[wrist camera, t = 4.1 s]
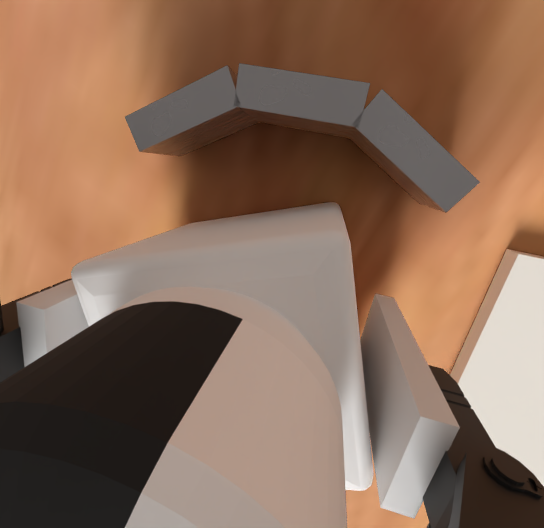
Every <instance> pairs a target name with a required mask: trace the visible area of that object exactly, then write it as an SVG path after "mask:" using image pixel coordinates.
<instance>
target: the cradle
mask: <svg viewBox="0 0 544 528" xmlns="http://www.w3.org/2000/svg"><path fill="white" fill-rule="evenodd" d="M369 86H370V83H366V82H359V81H353V80H346V79H340V78H333V77H326V76H320V75H313V74H307V73H300V72H293V71H287V70H280V69H274V68H267V67H260V66H254V65H247V64H241V63H239V69H238V76H237V75H236V74H235V73H234V72H233V71H232V70H231V69H230V67H229V66H228V65H227V66H225V67H223V68H221V69H219V70H217V71H215V72H213V73H211V74H209V75H207V76H205V77H203V78H201V79H199V80H197V81H195V82H193V83H191V84H189V85H187V86H185V87H183V88H181V89H179V90H177V91H175V92H173V93H171V94H169V95H167V96H165V97H163V98H161V99H159V100H157V101H155V102H153V103H151V104H149V105H147V106H145V107H143V108H141V109H139V110H137V111H135V112H133V113H131V114H129V115H127V116H125V119H126V121H127V123H128V126H129V128H130V130H131V133H132V135H133V138H134V140H135V142H136V145H137V147H138V149H139V152H147V153H155V154H164V155H172V156H182V155H184V154H187V153H189V152H191V151H194V150H196V149H198V148H201V147H203V146H205V145H208V144H210V143H212V142H214V141H217V140H219V139H221V138H224V137H226V136H228V135H231V134H233V133H235V132H238V131H240V130H242V129H245V128H247V127H249V126H252V125H254V124H256V123H258V122H260V123H266V124H272V125H277V126H283V127H289V128H294V129H300V130H306V131H311V132H317V133H323V134H328V135H334V136H340V137H345V138H350V139H351V140H352V141H353V142H354V143H355V144H356V145H357V146H358V147H359V148H360V149H361V150H362V151H363V152H365V153H366V154H367V155H368V156H369V157H370V158H371V159H372V160H373V161H374V162H375V163H376V164H377V165H378V166H380V167H381V168H382V169H383V170H384V171H385V172H386V173H387V174H388V175H389V176H390V177H391V178H392V179H393V180H395V181H396V182H397V183H398V184H399V185H400V186H401V187H402V188H403V189H404V190H405V191H406V192H407V193H408V194H410V195H411V196H412V197H413V198H414V199H415V200H416V201H417V202H418V203H419V204H422V205H425V206H428V207H431V208H434V209H437V210H440V211H443V212H447V211H449V210H450V209H451V208H452V207H453V206H454V205H455V204H456V203H457V202H459V201H460V200H461V199H462V198H463V197H464V196H465V195H466V194H467V193H469V192H470V191H471V190H472V189H473V188H474V187H475V186H476V185H477V184H479V183H480V182H479V181H478V180H477V179H476V178H475V177H474V176H473V175H472V174H471V173H470V172H469V171H468V170H467V169H465V168H464V167H463V166H462V165H461V164H460V163H459V162H458V161H457V160H456V159H455V158H454V157H453V156H452V155H451V154H450V153H449V152H448V151H447V150H446V149H444V148H443V147H442V146H441V145H440V144H439V143H438V142H437V141H436V140H435V139H434V138H433V137H432V136H431V135H430V134H429V133H428V132H427V131H426V130H425V129H424V128H422V127H421V126H420V125H419V124H418V123H417V122H416V121H415V120H414V119H413V118H412V117H411V116H410V115H409V114H408V113H407V112H406V111H405V110H404V109H403V108H401V107H400V106H399V105H398V104H397V103H396V102H395V101H394V100H393V99H392V98H391V97H390V96H389V95H388V94H387V93H386V92H385V91H384V90H383V89H382V90H381V91H380V92H379V93H378V94H377V95H376V97H375V98H374V99H373V100H372V101H371V102H370V104H369V105H368V106H367V107H366V108H365V109H364V106H365V102H366V98H367V94H368V90H369ZM363 110H364V111H363Z"/></svg>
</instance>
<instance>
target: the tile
mask: <svg viewBox="0 0 544 528" xmlns="http://www.w3.org/2000/svg"><path fill="white" fill-rule="evenodd" d="M450 376H451V377H452V378H453V379H454V380H455V381H456V382H457V384H458V385H459V387H460V389H461V390H462V392H463V394H464V397H465V398H466V399H467V400H468V402H469V404H470V405H471V409H473V410H474V412H475V413H476V415H477V417H478V418H479V420H480V422H481V423H482V425H483V427H484V428H485V430H486V432H487V433H488V435H489V437H490V438H491V440H492V442H493V443H494V445H495V447H496V448H498V449H500V450H502V451H504V452H506V453H508V454H509V455H511V456H512V457H514V458H515V459H517V460H518V461H520V462H521V463H522V464H523V465H524V466H525V467H526V468H528V469H529V470H530V471H531V472H532V473H533V474H534V475H535V476H536V478H537V479H538V480H539V481H540V483H541V484H542V485H543V486H544V257H543V256H538V255H534V254H529V253H524V252H519V251H514V250H510V249H507V250H506V252H505V254H504V256H503V258H502V261H501V263H500V265H499V267H498V269H497V272H496V274H495V276H494V278H493V280H492V283H491V285H490V287H489V289H488V291H487V294H486V296H485V298H484V300H483V303H482V305H481V307H480V309H479V311H478V314H477V316H476V318H475V320H474V322H473V325H472V327H471V329H470V331H469V333H468V336H467V338H466V340H465V342H464V345H463V347H462V349H461V351H460V353H459V356H458V358H457V360H456V362H455V364H454V367H453V369H452V371H451V373H450Z"/></svg>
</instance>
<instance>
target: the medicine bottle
mask: <svg viewBox="0 0 544 528" xmlns="http://www.w3.org/2000/svg"><path fill="white" fill-rule="evenodd" d="M71 275H72V281H73V283H74V286H75V289H76V292H77V295H78V297H79V300H80V303H81V306H82V309H83V312H84V314H85V317H86V320H87V323H88V326H89V327H88V328H86V329H84V330H83V331H81V332H80V333H78V334H76V335H75V336H73V337H72V338H70V339H69V340H67V341H65V342H64V343H62V344H61V345H59V346H57V347H56V348H54V349H53V350H51V351H49V352H48V353H46V354H45V355H43V356H42V357H40V358H38V359H37V360H35V361H34V362H32V363H30V364H29V365H27V366H26V367H24V368H22V369H21V370H19V371H18V372H16V373H15V374H13V375H11V376H10V377H8V378H7V379H5V380H3V381H2V382H0V528H347V512H346V490H358V491H362V490H366V489H367V488H368V487H370V486H371V485H372V481H373V464H372V454H371V444H370V434H369V424H368V414H367V404H366V394H365V383H364V373H363V363H362V353H361V343H360V333H359V323H358V313H357V303H356V293H355V283H354V273H353V263H352V252H351V243H350V239H349V236H348V232H347V229H346V225H345V222H344V218H343V215H342V211H341V208H340V206H339V205H338V204H337V203H336V202H327V203H321V204H314V205H307V206H301V207H294V208H288V209H281V210H274V211H268V212H261V213H255V214H248V215H241V216H235V217H228V218H221V219H215V220H208V221H202V222H195V223H190V224H187V225H184V226H181V227H179V228H176V229H173V230H170V231H167V232H164V233H161V234H159V235H156V236H153V237H150V238H147V239H144V240H141V241H138V242H136V243H133V244H130V245H127V246H124V247H121V248H118V249H116V250H113V251H110V252H107V253H104V254H101V255H98V256H96V257H93V258H90V259H87V260H84V261H82V262H80V263H78V264H77V265H75V266H74V267H73V269H72V271H71Z"/></svg>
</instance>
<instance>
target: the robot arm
mask: <svg viewBox="0 0 544 528" xmlns="http://www.w3.org/2000/svg"><path fill="white" fill-rule="evenodd" d="M88 327H89V326H88V323H87V320H86V317H85V314H84V312H83V309H82V306H81V303H80V300H79V297H78V295H77V292H76V289H75V286H74V283H73V281H72V279H68V280H65V281H62V282H60V283H57V284H55V285H53V286H52V287H47V288H45V289H42V290H41V291H40V292H39V291H37V292H35V293H32V294H30V295H27V296H25V297H22V298H20V299H17V300H15V301H12V302H10V303H7V304H5V305H2V306H1V303H0V382H2V381H3V380H5V379H7V378H8V377H10V376H11V375H13V374H15V373H16V372H18V371H19V370H21V369H22V368H24V367H26V366H27V365H29V364H30V363H32V362H34V361H35V360H37V359H38V358H40V357H42V356H43V355H45V354H46V353H48V352H49V351H51V350H53V349H54V348H56V347H57V346H59V345H61V344H62V343H64V342H65V341H67V340H69V339H70V338H72V337H73V336H75V335H76V334H78V333H80V332H81V331H83V330H84V329H86V328H88ZM360 343H361V353H362V363H363V373H364V383H365V394H366V404H367V414H368V424H369V433H370V439H371V446H372V453H373V460H374V466H375V473H376V480H377V487H378V493H379V500H380V507H381V508H383V509H387V510H390V511H393V512H396V513H399V514H402V515H405V516H408V517H411V518H415V516H416V514H417V512H418V510H419V508H420V506H421V504H422V502H423V501H424V505H425V508H426V512H427V515H428V519H429V524H428V526H427V528H544V486H543V485H542V484H541V483H540V481H539V480H538V479H537V478H536V476H535V475H534V474H533V473H532V472H531V471H530V470H529V469H528V468H526V467H525V466H524V465H523V464H522V463H521V462H520V461H518V460H517V459H515V458H514V457H512V456H511V455H509V454H508V453H506V452H504V451H502V450H500V449H498V448H496V447H495V445H494V443H493V442H492V440H491V438H490V437H489V435H488V433H487V432H486V430H485V428H484V427H483V425H482V423H481V422H480V420H479V418H478V417H477V415H476V413H475V412H474V410H473V409H471V405H470V404H469V402H468V400H467V399H466V398H465V397H464V394H463V392H462V390H461V389H460V387H459V385H458V384H457V382H456V381H455V380H454V379H453V378H452V377H451V376H450V375H449V374H448V373H447V372H445V371H444V370H443V369H441V368H437V367H434V366H430V365H428V364H427V362H426V360H425V358H424V356H423V354H422V352H421V350H420V348H419V346H418V344H417V342H416V340H415V338H414V336H413V334H412V332H411V330H410V328H409V326H408V324H407V322H406V320H405V318H404V316H403V314H402V313H401V311H400V309H399V307H398V305H397V303H396V301H395V299H394V298H393V297H388V296H384V295H380V294H376V293H375V295H374V299H373V302H372V305H371V308H370V311H369V314H368V317H367V320H366V324H365V327H364V330H363V333H362V336H361V339H360Z"/></svg>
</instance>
